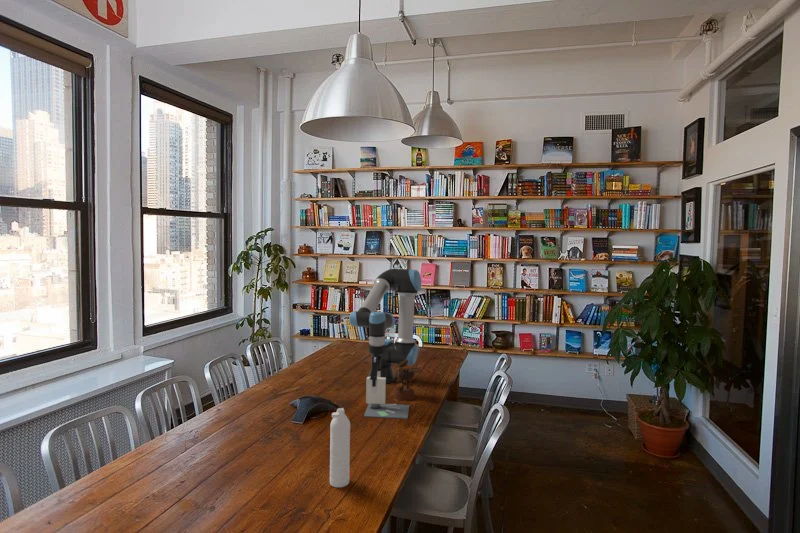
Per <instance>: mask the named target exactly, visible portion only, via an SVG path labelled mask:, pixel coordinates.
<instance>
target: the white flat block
mask: <svg viewBox="0 0 800 533" xmlns="http://www.w3.org/2000/svg"><path fill="white" fill-rule="evenodd" d="M370 378H371V377H369V376H367V377H366V381H365V382H366V383H365V387H366V388H365V390H366V391H365V404H371V407H372V408H380V406H396V404H397V403H386V391H387V390H386V388H387V387H386V385H387V383H386V378H385V377H377V393H371V380H370Z"/></svg>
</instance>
